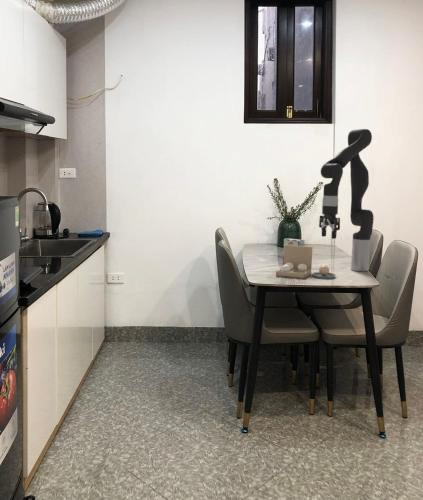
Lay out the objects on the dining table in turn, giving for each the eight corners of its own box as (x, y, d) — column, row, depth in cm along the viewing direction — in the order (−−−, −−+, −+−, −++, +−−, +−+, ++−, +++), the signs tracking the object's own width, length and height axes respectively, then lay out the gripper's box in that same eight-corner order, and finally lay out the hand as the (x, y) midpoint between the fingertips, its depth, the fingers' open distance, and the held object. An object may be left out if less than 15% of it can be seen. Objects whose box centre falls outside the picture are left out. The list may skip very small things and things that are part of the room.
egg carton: (283, 270, 258) (284, 245, 256) (311, 273, 252) (312, 247, 250) (276, 276, 244) (276, 248, 242) (304, 278, 238) (306, 251, 236)
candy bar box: (303, 269, 262) (305, 240, 259) (297, 270, 259) (299, 240, 256) (288, 266, 270) (289, 237, 268) (282, 267, 267) (283, 238, 265)
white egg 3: (298, 271, 253) (298, 262, 252) (307, 272, 251) (308, 263, 250) (296, 273, 248) (296, 263, 247) (305, 274, 246) (306, 264, 245)
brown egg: (319, 273, 247) (320, 264, 246) (329, 274, 245) (330, 265, 244) (318, 275, 242) (318, 265, 242) (328, 276, 240) (328, 266, 240)
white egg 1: (282, 272, 249) (282, 263, 248) (291, 273, 247) (291, 264, 246) (279, 274, 245) (279, 265, 244) (289, 275, 243) (289, 265, 242)
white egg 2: (285, 270, 255) (285, 261, 255) (294, 271, 253) (295, 262, 253) (283, 272, 251) (283, 262, 250) (292, 273, 249) (292, 263, 248)
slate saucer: (315, 273, 251) (315, 271, 251) (336, 275, 247) (336, 273, 246) (310, 277, 241) (310, 275, 241) (333, 279, 237) (333, 277, 236)
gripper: (315, 204, 242) (314, 236, 244) (332, 205, 228) (330, 239, 231) (328, 203, 244) (326, 235, 247) (345, 205, 231) (343, 239, 234)
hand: (328, 237), depth 239 cm, fingers open, 8 cm apart
